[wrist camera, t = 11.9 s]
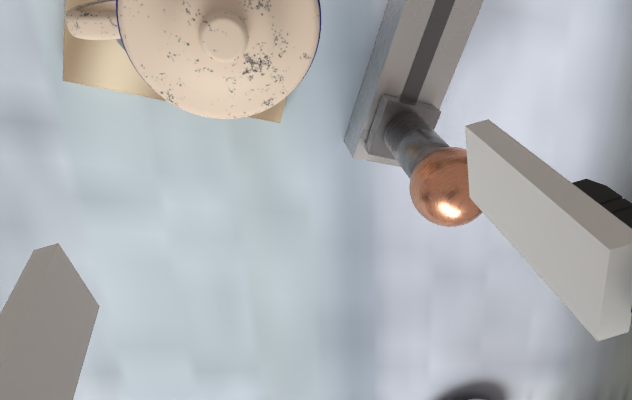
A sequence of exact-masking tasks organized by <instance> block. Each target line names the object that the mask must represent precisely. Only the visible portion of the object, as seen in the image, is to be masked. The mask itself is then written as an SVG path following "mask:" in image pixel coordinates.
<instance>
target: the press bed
mask: <svg viewBox="0 0 632 400" xmlns="http://www.w3.org/2000/svg"><path fill="white" fill-rule="evenodd" d="M93 1H98V0H65V15H66V12H67V11H68V10H69V9H71V8H73V7H75V6H78V5H81V4H84V3H88V2H93ZM63 81H67V82H72V83H77V84H82V85H87V86H92V87H98V88H103V89H108V90H113V91H118V92H123V93H128V94H133V95H139V96H144V97H149V98H154V99H159V100H164V101H167V100H165V99H164V98H163V97H161V96H160V95H159V94H157V93H156V92H155V91H154V90H153V89H152V88H151V87H150V86H149V85H148V84H147V83H146V82H145V81H144V80H143V79H142V77H141V76H140V75H139V73H138V72H137V71H136V69H135V68H134V66H133V64H132V63H131V61H130V59H129V57H128V55H127V53H126V51H125V49H124V46H123V43H122V41H121V39H110V40H86V39H80V38H77V37H74V36H73V35H71V33H70V32H69V30H68V28H67V24H66V21H65V26H64V58H63ZM286 98H287V97H285V98H284V99H283V100H282V101H280V102H279V103H277V104H276V105H274V106H273V107H271V108H269V109H267V110H265V111H263V112H260V113H257V114H254V115H251V116H247V117H251V118H257V119H262V120H267V121H272V122H277V123H280V122H281V118H282V114H283V110H284V106H285V102H286Z"/></svg>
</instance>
